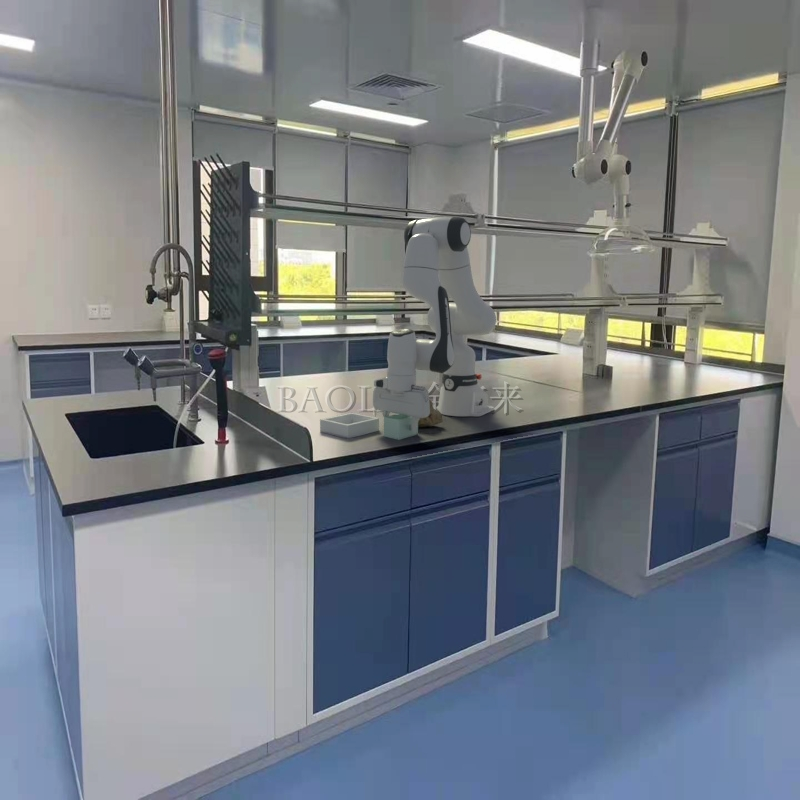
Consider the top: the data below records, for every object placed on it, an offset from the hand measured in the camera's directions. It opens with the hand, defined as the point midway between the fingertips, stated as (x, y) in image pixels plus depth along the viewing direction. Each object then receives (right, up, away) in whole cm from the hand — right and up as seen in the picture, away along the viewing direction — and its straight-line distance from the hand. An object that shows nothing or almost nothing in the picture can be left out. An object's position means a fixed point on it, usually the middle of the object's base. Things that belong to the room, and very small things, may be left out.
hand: (400, 427), depth 203 cm
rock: (+6, 0, +15) cm, 16 cm away
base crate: (-16, -1, +5) cm, 17 cm away
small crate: (0, -2, +1) cm, 2 cm away
